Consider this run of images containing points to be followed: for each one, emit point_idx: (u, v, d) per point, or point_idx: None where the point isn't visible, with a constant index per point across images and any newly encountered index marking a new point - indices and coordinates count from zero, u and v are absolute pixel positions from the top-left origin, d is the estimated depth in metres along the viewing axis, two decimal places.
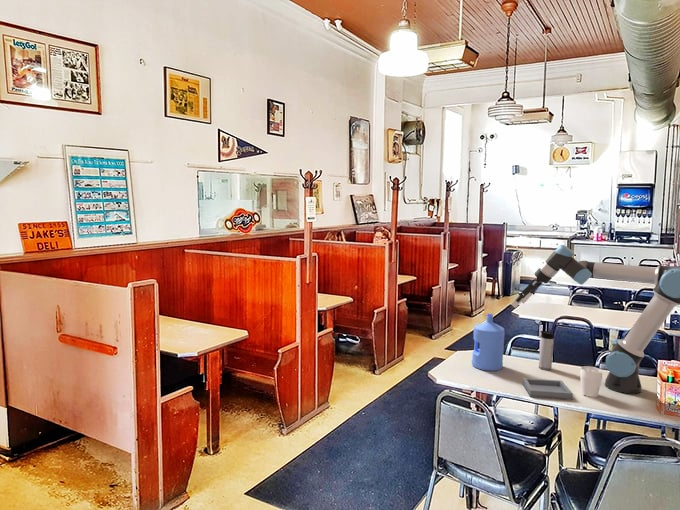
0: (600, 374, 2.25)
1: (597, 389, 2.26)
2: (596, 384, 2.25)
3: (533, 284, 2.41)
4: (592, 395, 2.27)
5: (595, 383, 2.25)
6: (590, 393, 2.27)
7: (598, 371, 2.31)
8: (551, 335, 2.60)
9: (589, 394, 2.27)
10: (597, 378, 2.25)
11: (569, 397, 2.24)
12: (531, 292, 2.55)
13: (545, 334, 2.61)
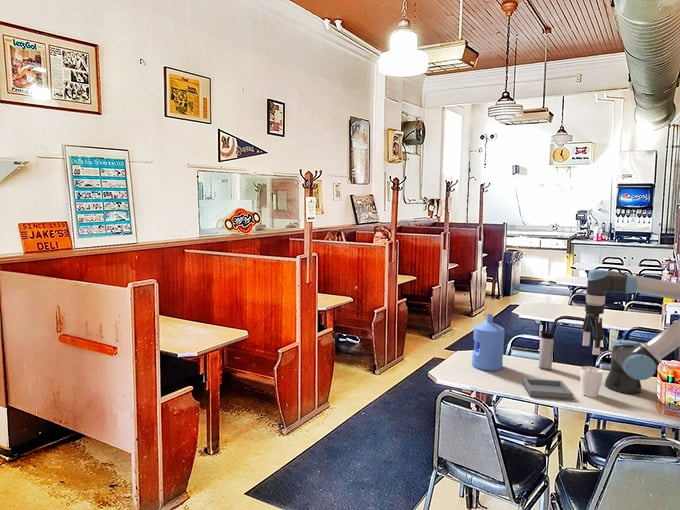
0: (600, 374, 2.25)
1: (597, 389, 2.26)
2: (596, 384, 2.25)
3: (599, 321, 2.20)
4: (592, 395, 2.27)
5: (595, 383, 2.25)
6: (590, 393, 2.27)
7: (598, 371, 2.31)
8: (551, 335, 2.60)
9: (589, 394, 2.27)
10: (597, 378, 2.25)
11: (569, 397, 2.24)
12: (588, 330, 2.34)
13: (545, 334, 2.61)
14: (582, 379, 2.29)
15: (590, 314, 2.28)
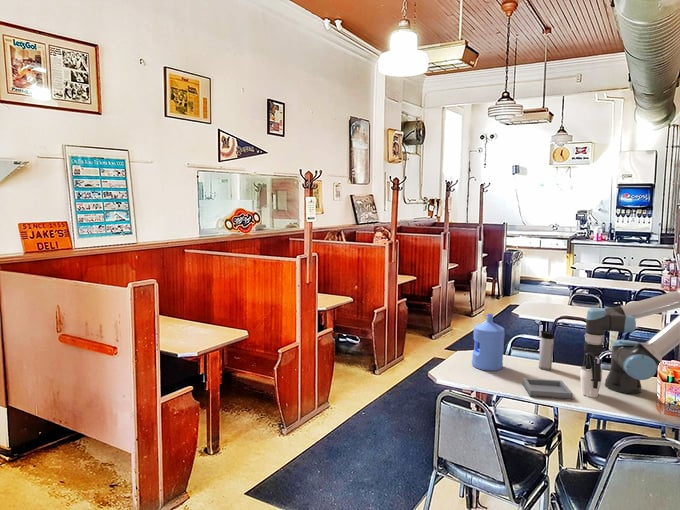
0: None
1: None
2: None
3: (598, 363, 2.22)
4: (592, 395, 2.27)
5: None
6: None
7: None
8: (551, 335, 2.60)
9: (589, 394, 2.27)
10: None
11: (569, 397, 2.24)
12: None
13: (545, 334, 2.61)
14: (582, 379, 2.29)
15: (589, 351, 2.29)
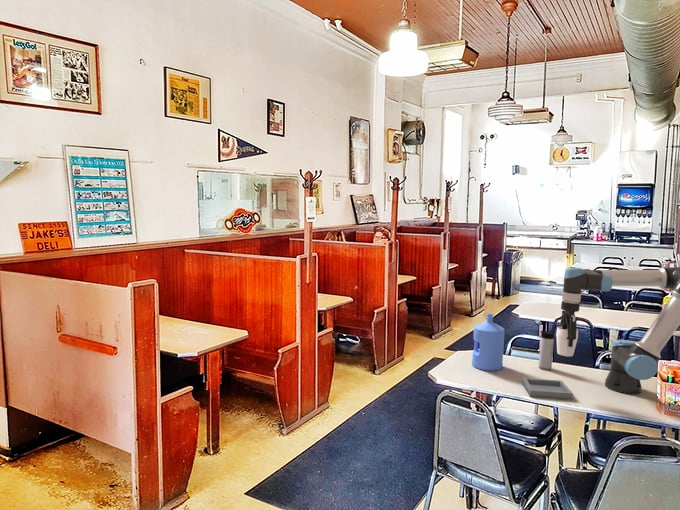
0: (576, 333, 2.25)
1: None
2: None
3: (574, 321, 2.21)
4: (567, 354, 2.26)
5: None
6: None
7: None
8: (551, 335, 2.60)
9: (564, 353, 2.27)
10: None
11: (569, 397, 2.24)
12: None
13: (545, 334, 2.61)
14: (558, 338, 2.28)
15: (566, 311, 2.29)
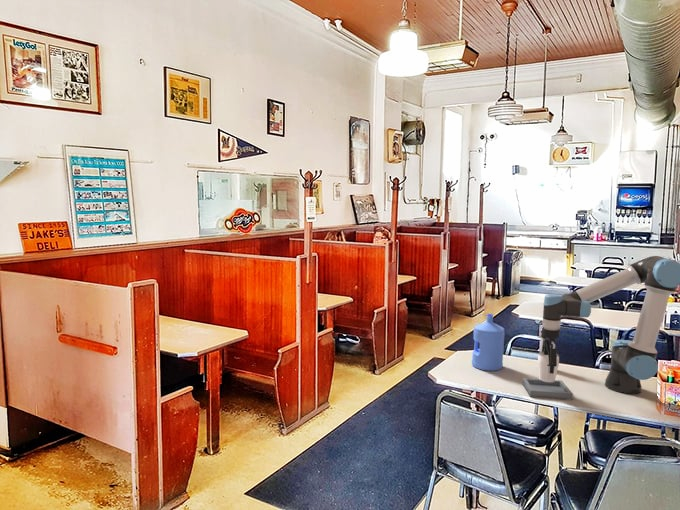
0: None
1: (554, 374, 2.28)
2: None
3: (554, 348, 2.24)
4: (549, 380, 2.29)
5: None
6: None
7: None
8: None
9: (546, 379, 2.29)
10: None
11: (569, 397, 2.24)
12: None
13: None
14: (539, 364, 2.30)
15: None
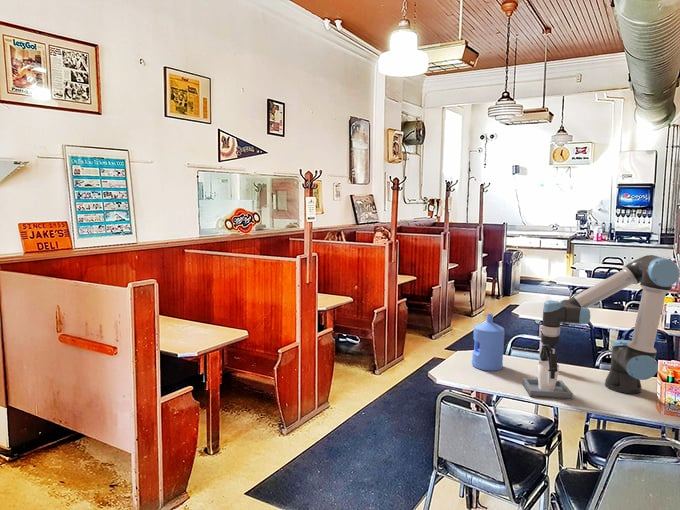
0: None
1: None
2: None
3: (554, 353, 2.24)
4: (548, 390, 2.29)
5: None
6: (546, 387, 2.29)
7: None
8: None
9: (545, 389, 2.29)
10: None
11: (569, 397, 2.24)
12: (545, 360, 2.38)
13: None
14: (539, 374, 2.31)
15: (546, 344, 2.31)
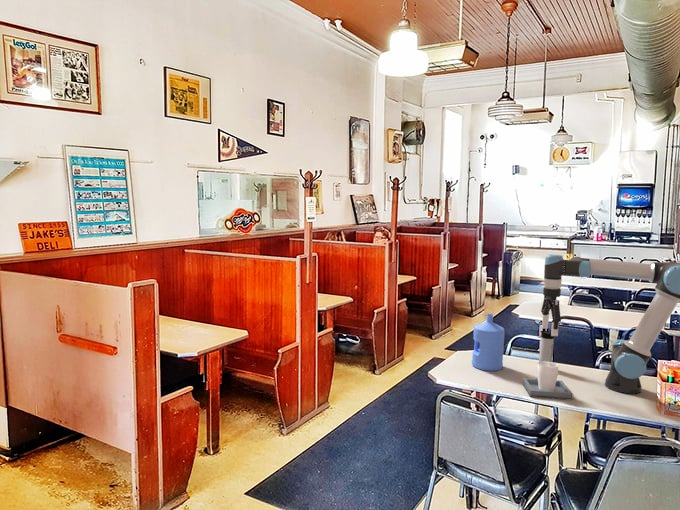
0: (556, 369, 2.28)
1: (553, 384, 2.29)
2: (552, 379, 2.28)
3: (556, 304, 2.29)
4: (548, 390, 2.29)
5: (551, 378, 2.28)
6: (546, 387, 2.29)
7: (555, 366, 2.33)
8: None
9: (545, 389, 2.29)
10: (553, 373, 2.27)
11: (569, 397, 2.24)
12: (546, 314, 2.44)
13: (545, 334, 2.61)
14: (539, 374, 2.31)
15: (548, 297, 2.37)
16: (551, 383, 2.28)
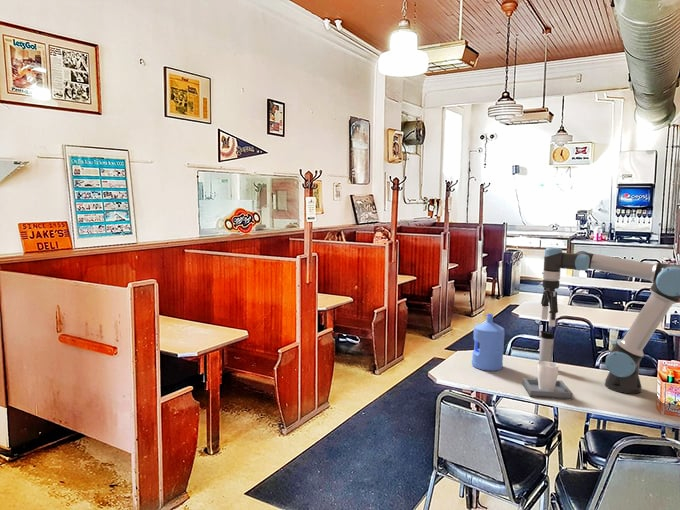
0: (556, 369, 2.28)
1: (553, 384, 2.29)
2: (552, 379, 2.28)
3: (554, 295, 2.36)
4: (548, 390, 2.29)
5: (551, 378, 2.28)
6: (546, 387, 2.29)
7: (555, 366, 2.33)
8: (551, 335, 2.60)
9: (545, 389, 2.29)
10: (553, 373, 2.27)
11: (569, 397, 2.24)
12: (546, 305, 2.51)
13: (545, 334, 2.61)
14: (539, 374, 2.31)
15: (547, 289, 2.44)
16: (551, 383, 2.28)
